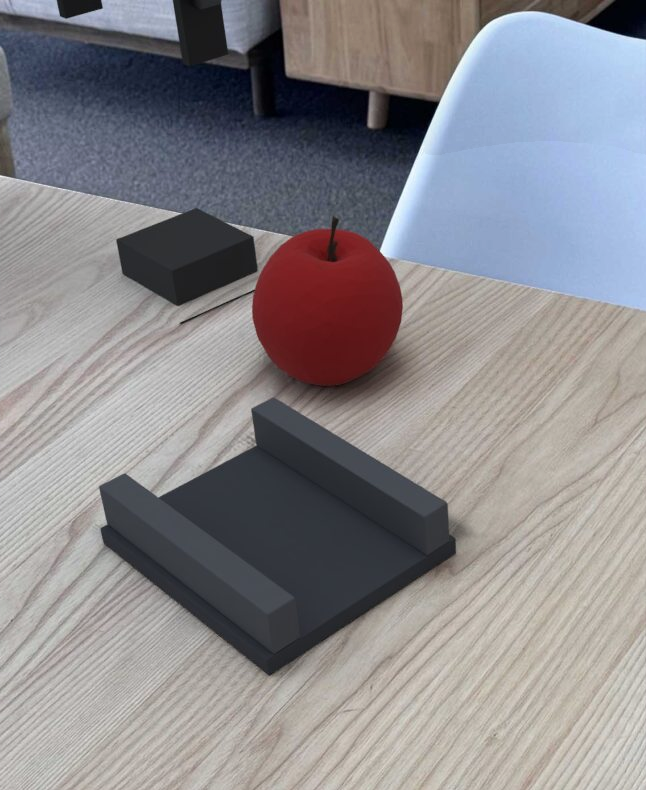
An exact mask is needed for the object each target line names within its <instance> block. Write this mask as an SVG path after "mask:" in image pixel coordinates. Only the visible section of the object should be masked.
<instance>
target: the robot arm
mask: <svg viewBox="0 0 646 790" xmlns="http://www.w3.org/2000/svg"><path fill="white" fill-rule="evenodd" d="M222 1H223V0H172V4H173V10H174V11H173V12H174V17H175V23H176V29H177V36H178V43H179V50H180V55H181V60H182V61H181V62H182V64H183V65H185V66H188V67H193V66H197V65H200V64H203V63H206V62H209V61H212V60H215V59H219V58H221V57H222V58H223V57H225V56H227V55H229V49H228V42H227V35H226V28H225V22H224V14H223V7H222ZM56 4H57V9H58V14H59V17H61V18H62V19H66V20H68V19H70V18H74V17H78V16H80V15H85V14H89V13H92V12H95V11H99V10H102V9H104V6H103V2H102V0H56Z"/></svg>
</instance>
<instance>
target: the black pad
mask: <svg viewBox="0 0 646 790" xmlns="http://www.w3.org/2000/svg"><path fill="white" fill-rule="evenodd" d="M115 240H116V246H117V252H118V257H119V263H120V267H121V274H122V275H123V276H125V277H126V278H128V279H130V280H132V281H134V282H135V283H137V284H139V285H140V286H142V287H144V288H145V289H147V290H149V291H150V292H153V293H154V294H155V295H157V296H159V297H161V298H162V299H164V300H166V301H167V302H169V303H171V304H173V305H174V306H176V307H180V306H182V305H184V304H186V303H189V302H191V301H193V300H196V299H198V298H200V297H202V296H205V295H207V294H209V293H212V292H214V291H216V290H218V289H222V288H224V287H226V286H228V285H230V284H232V283H234V282H237V281H239V280H241V279H244V278H246V277H248V276H251V275H253V274H255V273H258V272H259V268H258V260H257V253H256V246H255V238H254V236H253V235H251V234H249V233H247V232H245V231H243V230H241V229H239V228H238V227H235V226H234V225H231V224H230V223H227V222H225V221H223V220H221V219H220V218H217V217H216V216H214V215H212V214H209V213H208V212H205V211H204V210H202V209H200V208H198V207H195V208H192V209H190V210H187V211H185V212H183V213H180V214H177V215H174V216H172V217H170V218H167V219H164V220H162V221H159V222H157V223H154V224H152V225H149V226H147V227H144V228H142V229H139V230H137V231H134V232H132V233H128V234H126V235H124V236H121V237H118V238H117V239H115ZM254 291H255V288H254V289H252V290H249V291H248V292H245V293H243V294H240V295H238V296H236V297H234V298H232V299H230V300H227V301H225V302H223V303H220V304H218V305H216V306H214V307H212V308H209V309H207V310H205V311H202V312H200V313H198V314H196V315H194V316H191V317H190V318H187V319H185V320H182V321H180V322H179V324H180V325H183V324H185V323H187V322H189V321H191V320H194V319H196V318H199V317H201V316H204V315H205V314H207V313H209V312H211V311H214V310H216V309H218V308H220V307H223V306H225V305H227V304H229V303H231V302H234V301H236V300H238V299H240V298H243V297H246V296H247V295H250V294H251V293H254Z"/></svg>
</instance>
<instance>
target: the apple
mask: <svg viewBox="0 0 646 790" xmlns="http://www.w3.org/2000/svg"><path fill="white" fill-rule="evenodd" d="M339 221H340V219H339V218H337V217H336V216H334V215H332V219H331V228H314V229H310V230H307V231H303V232H301V233H299V234H296V235H294V236H291V237H290V238H289V239H287V240H286V241H285V242H283V243H282V244H281V245H279V246H278V248H277V249H276V250H275V251H274V252H273V253H272V254H271V256H270V257H269V258H268V260H267V262H266V263H265V265H264V266H263V268H262V269H261V271H260V274H259V277H258V279H257V281H256V285H255V288H254V289H255V291H254V292H253V295H252V303H251V315H252V322H253V325H254V329H255V333H256V334H255V335H256V337H257V339H258V340H259V343H260V344H261V346H262V348H263V349H264V352H265V353H266V355H267V356H268V358H269V359H270V360H271V361H272V363H274V364H275V366H276V367H277V368H278V369H279V370H281V371H282V372H284V373H286V374H287V375H288V376H290V377H291V378H294V379H295V380H298V381H300V382H302V383H306V384H312V385H315V386H324V387H325V386H326V387H333V386H340V385H343V384H347V383H349V382H351V381H353V380H355V379H357V378H359V377H362V376H363V375H364V374H367V373H368V372H370V371H372V370H373V369H375V367H376V366H377V365H378V364H379V363H380V362H381V361H382V360H384V358H385V357H386V355H387V354H388V353H389V351H390V349H391V348H392V346H393V344H394V342H395V341H396V339H397V337H398V332H399V330H400V327H401V324H402V318H403V311H404V310H403V309H404V306H403V305H404V304H403V294H402V289H401V285H400V283H399V280H398V277H397V275H396V272H395V270H394V268H393V266H392V265H391V263H390V261H389V260H388V259H387V258H386V257H385V255H384V254H383V253H382V252H381V251H380V249H379V248H378V247H376V245H374V244H373V243H372V242H371V241H370V240H369V239H367V237H365V236H363V235H361V234H359V233H357V232H354V231H350V230H347V229H340V228H339V229H338V228H337V226H338V224H339Z"/></svg>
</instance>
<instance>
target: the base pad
mask: <svg viewBox="0 0 646 790" xmlns="http://www.w3.org/2000/svg"><path fill="white" fill-rule="evenodd" d="M250 410H251V416H252V417H251V419H252V426H253V431H254V439H255V446H253V447H251V448H248V449H247V450H245V451H243V452H241V453H239V454H238V455H235V456H234V457H232V458H229V459H228V460H226V461H224V462H223V463H221V464H218V465H217V466H215V467H213V468H211V469H209V470H207V471H206V472H203V473H202V474H200V475H198V476H196V477H194V478H193V479H189V481H187V482H184V483H183V484H181V485H179V486H177V487H175V488H173V489H172V490H170V491H168V492H165V493H164V494H161V495H159V496H157V495H156V494H155V493H153V492H152V491H151V490H149V489H148V488H146V487H145V486H143V485H142V484H141V483H140V482H138V481H136V480H135V479H134V478H132V477H131V476H130V475H128V474H127V473H126V472H125V473H122V474H120V475H118V476H116V477H114V478H111V479H110V480H108V481H106V482H104V483H102V484H99V486H98V489H99V494H100V498H101V503H102V507H103V511H104V517H105V521H106V525H103V526H101V527H100V528H99V529H100V533H101V538H102V542H103V544H104V545H105V546H107V547H108V548H109V549H110V550H112V551H113V552H114V553H115V554H116V555H118V556H119V557H120V558H122V559H123V560H124V561H125V562H127V563H128V564H129V565H131V567H133V568H134V569H135V570H137V571H138V572H139V573H140V574H142V575H143V576H144V577H146V578H147V580H149V581H150V582H152V584H154V585H156V586H157V587H158V588H159V589H160V590H162V591H163V592H164V593H166V594H167V595H168V596H169V597H171V598H172V599H173V600H174V601H176V602H177V603H178V604H179V605H181V606H182V607H183V608H184V609H186V610H187V611H188V612H189V613H191V614H192V615H193V616H195V618H197V619H198V620H199V621H200V622H201V623H203V624H204V625H205V626H206V627H208V628H210V629H211V630H212V631H213V632H214V633H216V634H217V635H218V636H220V637H221V638H222V639H223V640H225V641H226V642H227V643H228V644H229V645H231V646H232V647H233V648H234V649H236V650H237V651H238V652H240V653H241V654H242V655H243V656H245V658H247V659H248V660H250V661H251V662H252V663H253V664H255V666H257V667H258V668H259V669H260V670H262V671H264V672H265V674H267V675H268V676H270V675H273V673H275V672H277V671H278V670H279V669H281V668H283V667H284V666H285V665H287V664H288V663H290V662H292V661H293V660H294V659H295V660H296V658H298V657H300V656H301V655H303V654H304V653H305V652H307V651H308V650H310V649H312V648H313V647H314V646H316V645H318V644H319V643H321V642H323V641H324V640H325V639H327V638H328V637H330V636H331V635H333V634H335V633H336V632H338V631H340V630H341V629H342V628H344V627H345V626H347V625H348V624H349V623H352V621H354V620H356V619H357V618H359V617H360V616H362V615H363V614H365V613H366V612H368V611H370V610H371V609H372V608H374V607H376V606H378V605H379V604H380V603H382V602H383V601H385V600H387V599H388V598H390V597H391V596H393V595H395V593H397V592H399V591H400V590H402V589H403V588H405V587H406V586H408V585H409V584H411V583H412V582H414V581H415V580H417V579H418V578H420V577H421V576H423V575H424V574H426V573H428V572H429V571H431V570H432V569H433V568H435V567H437V566H438V565H439V564H442V563H443V562H445V561H446V560H447V559H449V558H451V557H452V556H454V555H455V554H456V553H457V543H456V537H454V536H453V535H452V534H450V524H449V522H450V521H449V505H448V504H449V503H448V502H447V501H445V500H444V499H442V498H440V497H439V496H438V495H436V494H434V493H432V492H431V491H429V490H428V489H426V488H424V487H423V486H421V485H419V484H418V483H417V482H414V481H413V480H412V479H410V478H408V477H406V476H405V475H403V474H401V473H399V472H398V471H396V470H395V469H393V468H391V467H390V466H388V465H386V464H384V463H383V462H381V460H380V461H379V460H378V459H376V458H375V457H373V456H371V455H370V454H368V453H367V452H365V451H364V450H362V449H360V448H359V447H356V446H355V445H353V444H352V443H350V442H349V441H347V440H345V439H344V438H342V437H340V436H339V435H337V434H336V433H333V431H330V430H328V429H327V428H326V427H324V426H322V425H320V424H319V423H318V422H315V421H314V420H312V419H311V418H309V417H307V416H306V415H304V414H302V413H301V412H299V411H298V410H296V409H294V408H292V407H291V406H289V405H288V404H286V403H284V402H282V401H281V400H279V399H278V398H276V397H271V398H268V399H267V400H265V401H263V402H261V403H259V404H257V405H255V406H253V407H251V408H250Z"/></svg>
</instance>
